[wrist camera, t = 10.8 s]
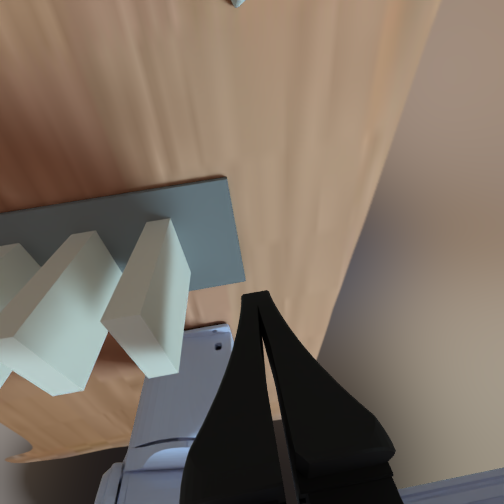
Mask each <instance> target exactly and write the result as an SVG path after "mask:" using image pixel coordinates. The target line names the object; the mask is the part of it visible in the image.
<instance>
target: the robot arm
mask: <svg viewBox="0 0 504 504" xmlns="http://www.w3.org/2000/svg"><path fill="white" fill-rule="evenodd" d="M262 338H263V341H264V345H265V348H266V352H267V356H268V359H269V363H270V367H271V370H272V374H273V378H274V382H275V386H276V391H277V396H278V401H279V406H280V412H281V417H282V422H283V428H284V433H285V438H286V444H287V449H288V454H289V460H290V465H291V471H292V476H293V481H294V487H295V493H296V498H297V503H298V504H504V468H499V469H495V470H490V471H485V472H480V473H475V474H471V475H465V476H461V477H456V478H451V479H446V480H441V481H437V482H432V483H427V484H422V485H418V486H412V487H408V488H403V489H398V490H397V487H396V485H395V483H394V481H393V478H392V476H393V472H392V470H391V468H390V466H389V463H388V461H389V460H390V459H391V458H392V457H393V456H394V454H395V451H396V450H395V448H394V446H393V443H392V441H391V440H390V438H389V436H388V435H387V433H386V431H385V430H384V428H383V427H382V425H381V424H380V422H379V421H378V420H377V418H376V417H375V416H374V415H373V414H372V413H371V412H369V410H367V409H366V408H365V407H364V406H363V405H362V404H360V403H359V402H358V401H357V400H356V399H355V398H354V397H352V396H351V395H350V394H349V393H348V392H347V391H346V390H345V389H344V388H343V387H341V386H340V384H338V383H337V382H336V380H334V379H333V378H332V376H330V374H328V372H327V371H326V370H325V369H324V368H323V367H322V366H320V364H319V363H318V362H317V361H316V360H315V359H314V358H313V357H312V355H311V354H310V353H309V352H308V351H307V350H306V348H305V347H304V346H303V345H302V343H301V342H300V341H299V340H298V338H297V337H296V336H295V334H294V333H293V332H292V330H291V329H290V328H289V326H288V325H287V323H286V322H285V320H284V319H283V317H282V316H281V314H280V312H279V311H278V309H277V307H276V306H275V304H274V302H273V300H272V298H271V296H270V293H269V291H267V290H266V291H260V292H254V293H248V294H243V295H242V296H241V312H240V319H239V324H238V329H237V334H236V338H235V341H233V337H232V334H231V331H230V327H229V325H228V324H220V325H214V326H209V327H203V328H198V329H192V330H186V331H184V333H183V341H182V349H181V357H180V365H179V373H175V374H170V375H165V376H159V377H154V378H148V377H147V376H146V375H145V379H144V383H143V387H142V392H141V396H140V400H139V405H138V409H137V413H136V418H135V422H134V426H133V430H132V435H131V439H130V443H129V448H128V452H127V454H126V456H125V459H124V461H123V463H114V464H113V465H112V467H111V469H109V470H108V471H107V472H106V473H104V475H103V476H102V479H101V483H100V486H99V489H98V493H97V496H96V500H95V503H94V504H286V499H285V493H284V487H283V481H282V475H281V469H280V463H279V457H278V451H277V445H276V439H275V434H274V427H273V421H272V415H271V409H270V403H269V397H268V391H267V384H266V375H265V363H264V352H263V341H262Z"/></svg>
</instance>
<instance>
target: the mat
mask: <svg viewBox="0 0 504 504" xmlns="http://www.w3.org/2000/svg"><path fill="white" fill-rule="evenodd" d="M168 218H171V221H172V224H173V226H174V229H175V232H176V234H177V237H178V240H179V242H180V245H181V248H182V250H183V253H184V256H185V258H186V261H187V264H188V266H189V269H190V271H191V276H190V284H189V291H192V290H198V289H204V288H209V287H215V286H221V285H226V284H232V283H238V282H244V281H246V280H245V274H244V269H243V263H242V258H241V252H240V247H239V242H238V236H237V231H236V225H235V220H234V215H233V209H232V204H231V198H230V193H229V188H228V182H227V177H223V178H217V179H211V180H205V181H198V182H192V183H186V184H180V185H173V186H167V187H161V188H155V189H148V190H142V191H136V192H130V193H123V194H117V195H111V196H105V197H98V198H92V199H86V200H80V201H73V202H67V203H61V204H55V205H48V206H42V207H36V208H30V209H24V210H17V211H11V212H5V213H0V246H4V245H10V244H16V243H20V244H21V245H22V246H23V248H24V249H25V250H26V251H27V252H28V253H29V254H30V255H31V257H32V258H33V259H34V260H35V261H36V262H37V263H38V264H39V265H40V267H42V266H43V265H44V264H45V263H46V262H47V261H48V259H49V258H50V257H51V256H52V255H53V254H54V253H55V252H56V251H57V250H58V248H59V247H60V246H61V245H62V244H63V243H64V242H65V241H66V240H67V239H68V238H69V236H70V235H71V234H77V233H83V232H89V231H95V230H96V232H97V233H98V235H99V237H100V238H101V240H102V241H103V243H104V245H105V246H106V248H107V249H108V251H109V253H110V254H111V256H112V258H113V259H114V261H115V262H116V264H117V266H118V267H119V269H120V270H121V272H122V273H123V271H124V269H125V267H126V265H127V263H128V261H129V258H130V256H131V254H132V252H133V250H134V248H135V246H136V244H137V241H138V239H139V237H140V235H141V233H142V231H143V229H144V227H145V224H146V222H150V221H156V220H162V219H168Z"/></svg>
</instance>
